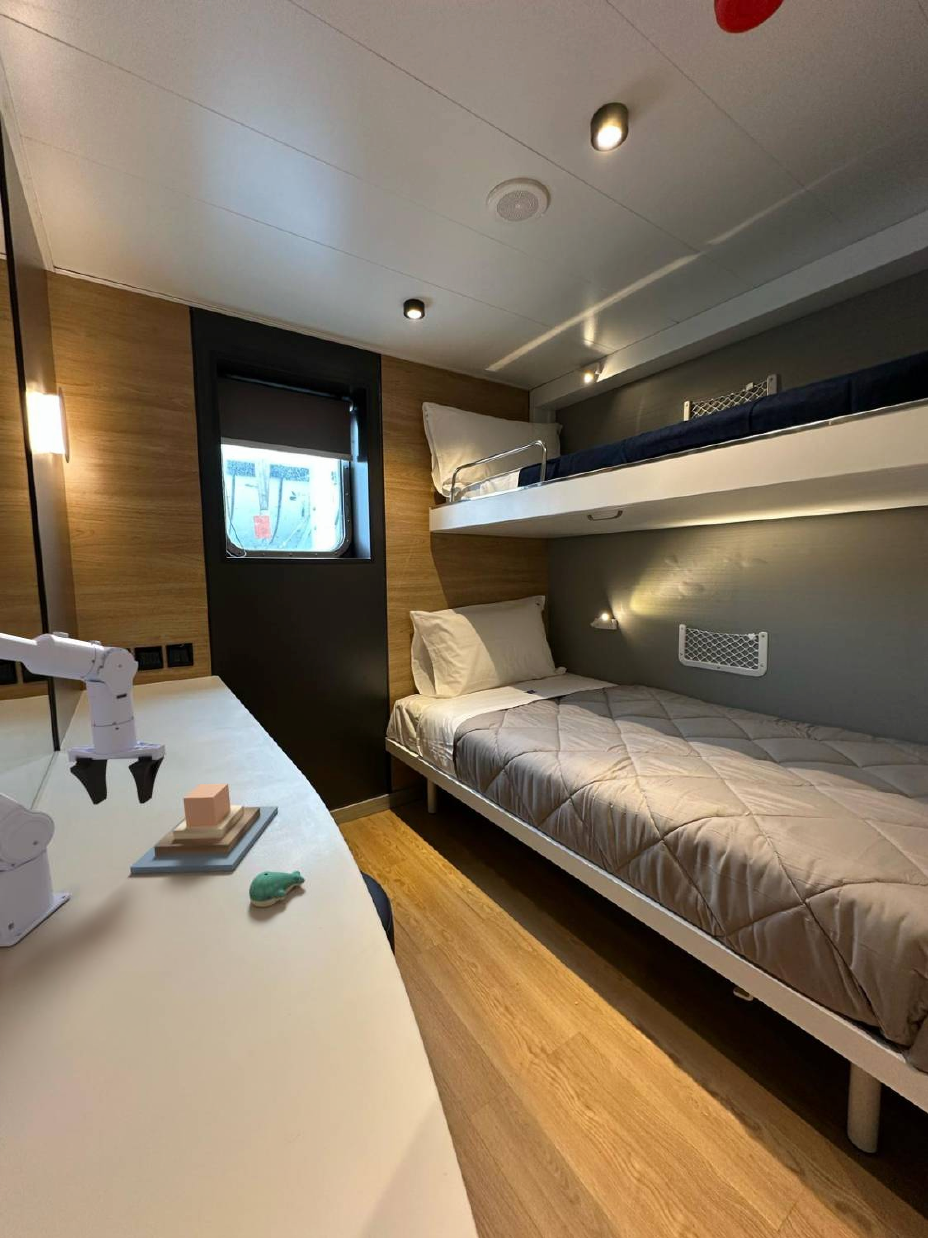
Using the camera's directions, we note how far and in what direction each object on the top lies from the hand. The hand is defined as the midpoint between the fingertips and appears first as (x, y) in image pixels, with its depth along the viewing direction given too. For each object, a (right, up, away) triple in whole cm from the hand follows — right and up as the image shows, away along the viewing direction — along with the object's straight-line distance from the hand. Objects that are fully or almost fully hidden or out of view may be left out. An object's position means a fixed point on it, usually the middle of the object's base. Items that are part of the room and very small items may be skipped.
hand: (123, 801), depth 80 cm
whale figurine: (+29, -10, -10) cm, 32 cm away
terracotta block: (+12, -5, +4) cm, 13 cm away
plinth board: (+12, -8, +5) cm, 15 cm away
